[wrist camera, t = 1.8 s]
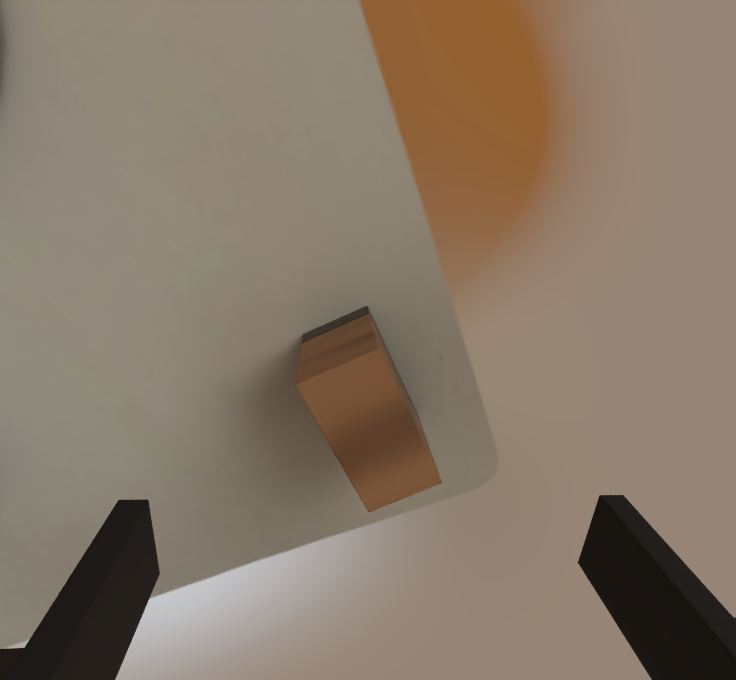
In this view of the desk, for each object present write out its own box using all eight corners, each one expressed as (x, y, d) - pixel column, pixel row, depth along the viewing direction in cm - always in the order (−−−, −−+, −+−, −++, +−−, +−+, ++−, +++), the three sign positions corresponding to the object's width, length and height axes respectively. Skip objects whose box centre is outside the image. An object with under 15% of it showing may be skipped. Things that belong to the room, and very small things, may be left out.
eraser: (302, 334, 27) (294, 385, 21) (367, 305, 27) (379, 348, 21) (360, 440, 31) (368, 513, 24) (418, 416, 30) (442, 483, 24)
